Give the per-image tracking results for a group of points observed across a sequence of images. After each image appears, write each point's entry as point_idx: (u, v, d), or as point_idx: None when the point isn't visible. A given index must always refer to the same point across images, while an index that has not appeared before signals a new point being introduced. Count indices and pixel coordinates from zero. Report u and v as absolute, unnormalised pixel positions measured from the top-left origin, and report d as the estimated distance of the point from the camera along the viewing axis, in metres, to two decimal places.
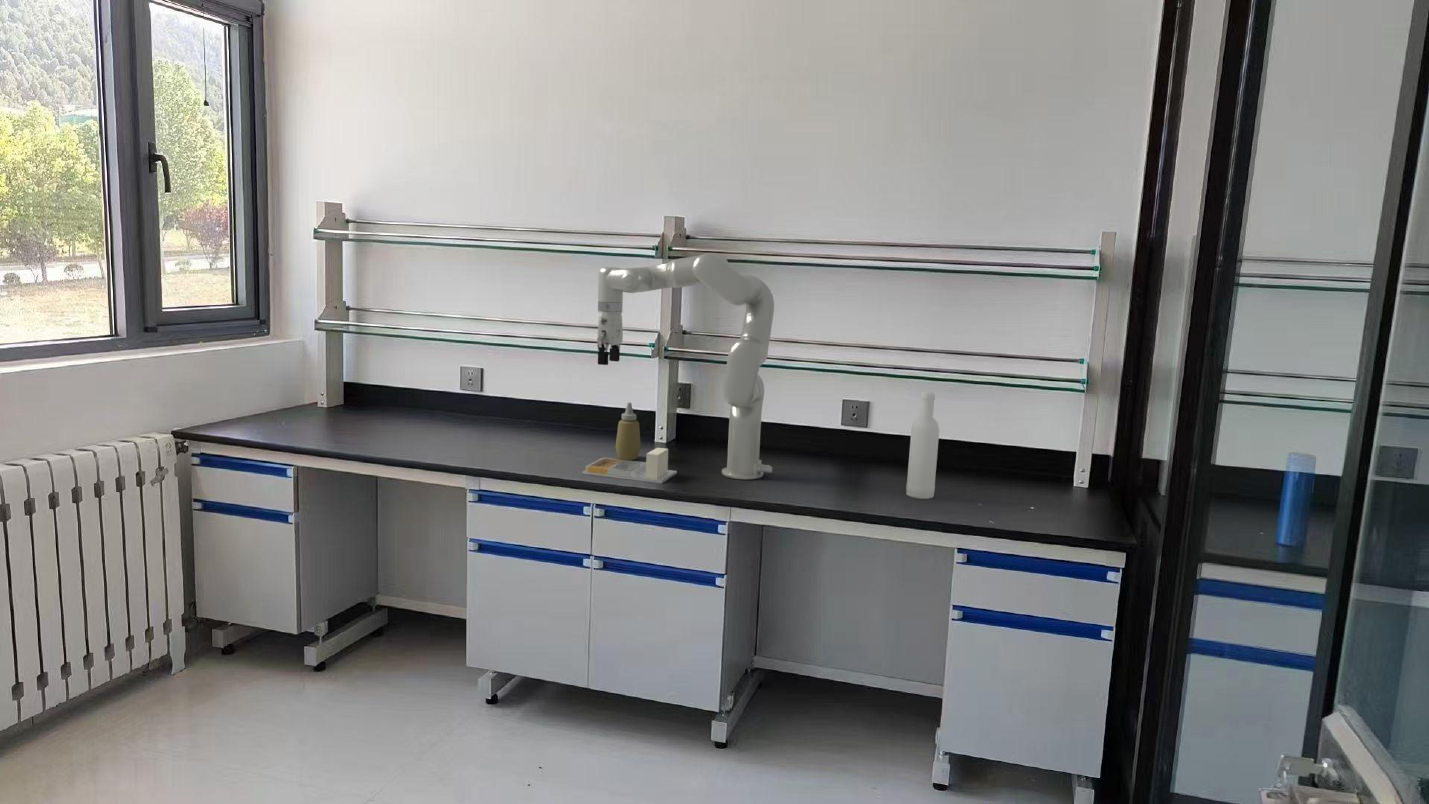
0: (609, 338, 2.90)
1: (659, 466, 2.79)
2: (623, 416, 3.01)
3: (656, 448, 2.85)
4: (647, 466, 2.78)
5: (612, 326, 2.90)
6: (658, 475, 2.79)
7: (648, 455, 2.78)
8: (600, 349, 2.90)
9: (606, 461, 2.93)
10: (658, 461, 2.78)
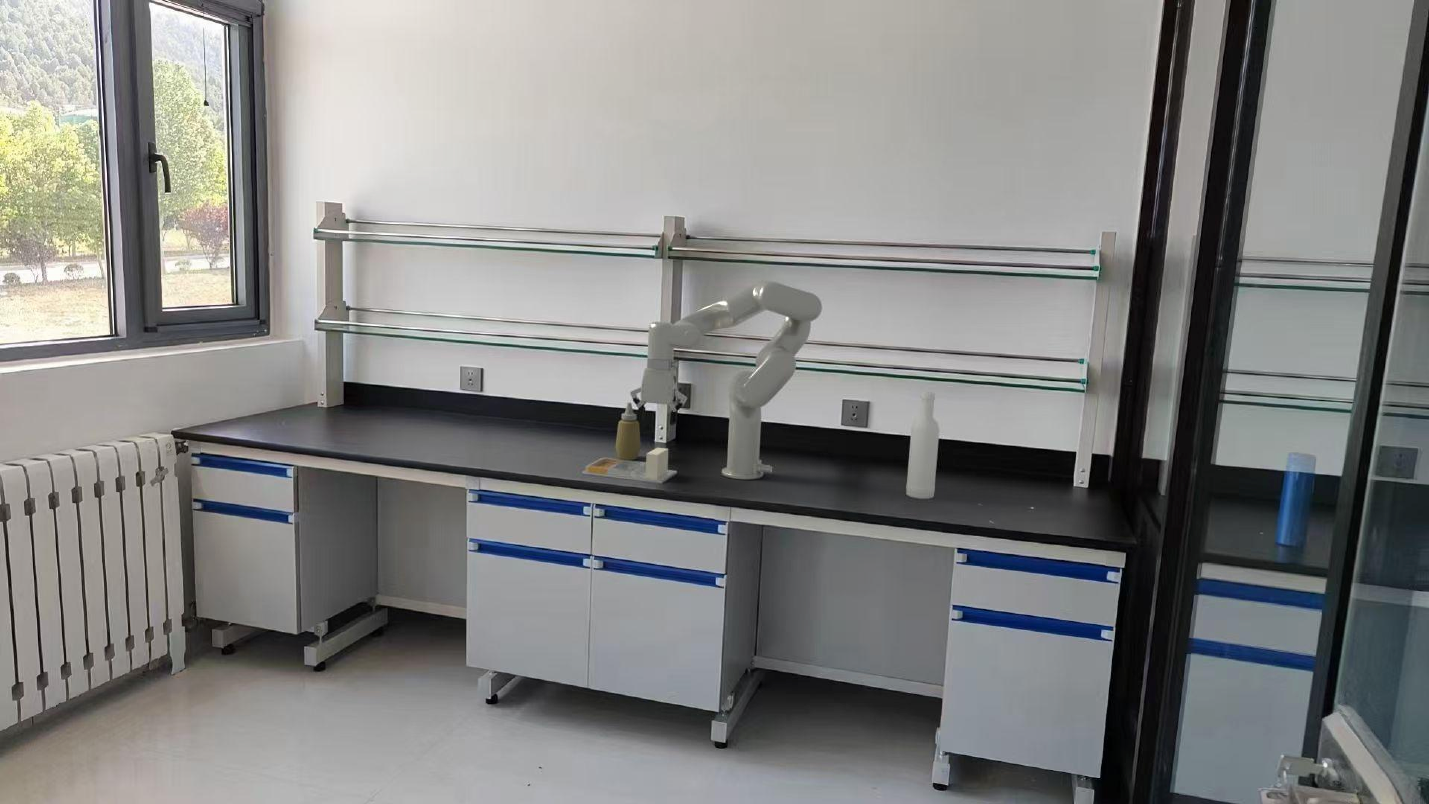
0: (676, 395, 2.79)
1: (659, 466, 2.79)
2: (623, 416, 3.01)
3: (656, 448, 2.85)
4: (647, 466, 2.78)
5: None
6: (658, 475, 2.79)
7: (648, 455, 2.78)
8: (679, 408, 2.77)
9: (606, 461, 2.93)
10: (658, 461, 2.78)
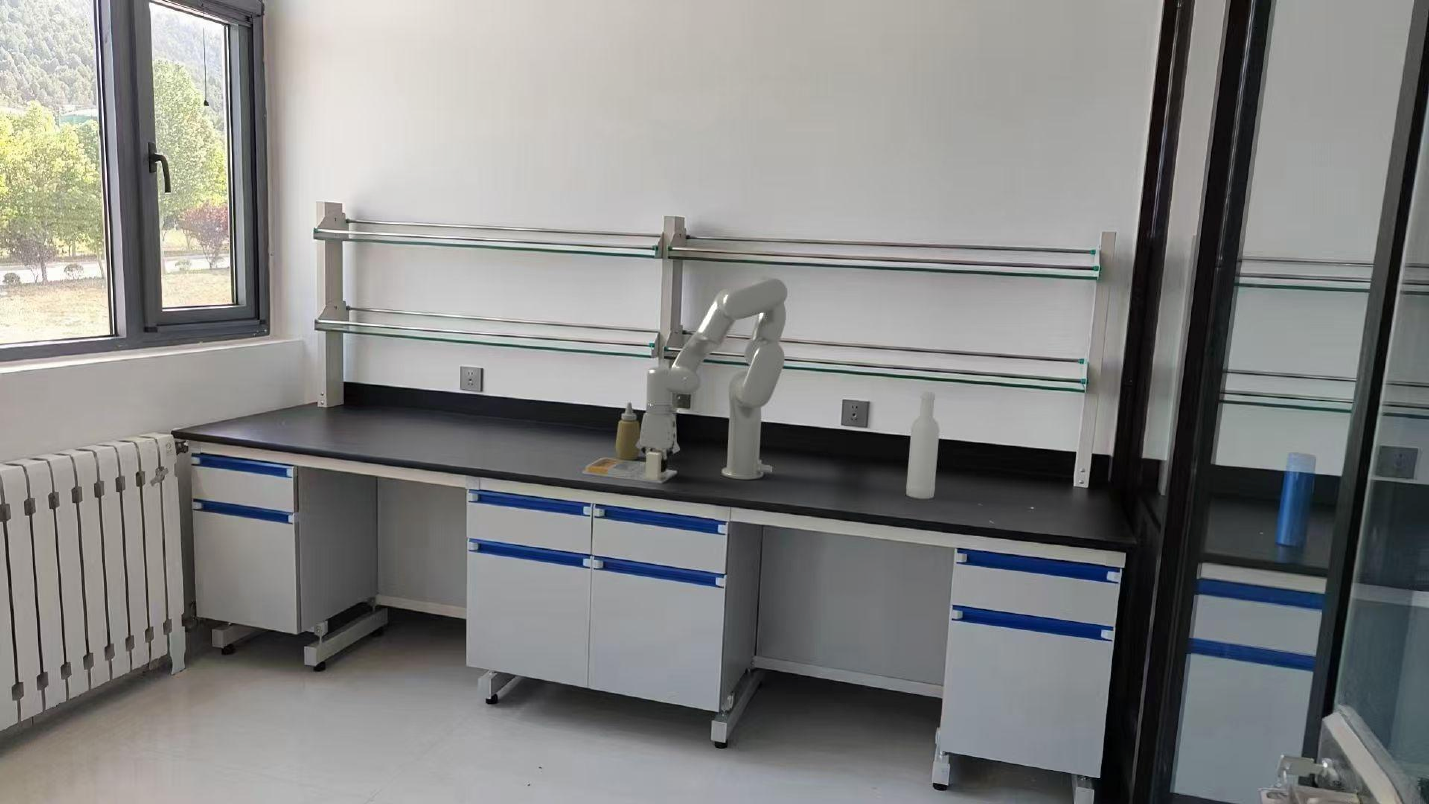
0: (676, 440, 2.81)
1: (659, 466, 2.79)
2: (623, 416, 3.01)
3: (656, 448, 2.85)
4: (647, 466, 2.78)
5: None
6: (658, 475, 2.79)
7: (648, 455, 2.78)
8: (669, 456, 2.80)
9: (606, 461, 2.93)
10: (658, 461, 2.78)
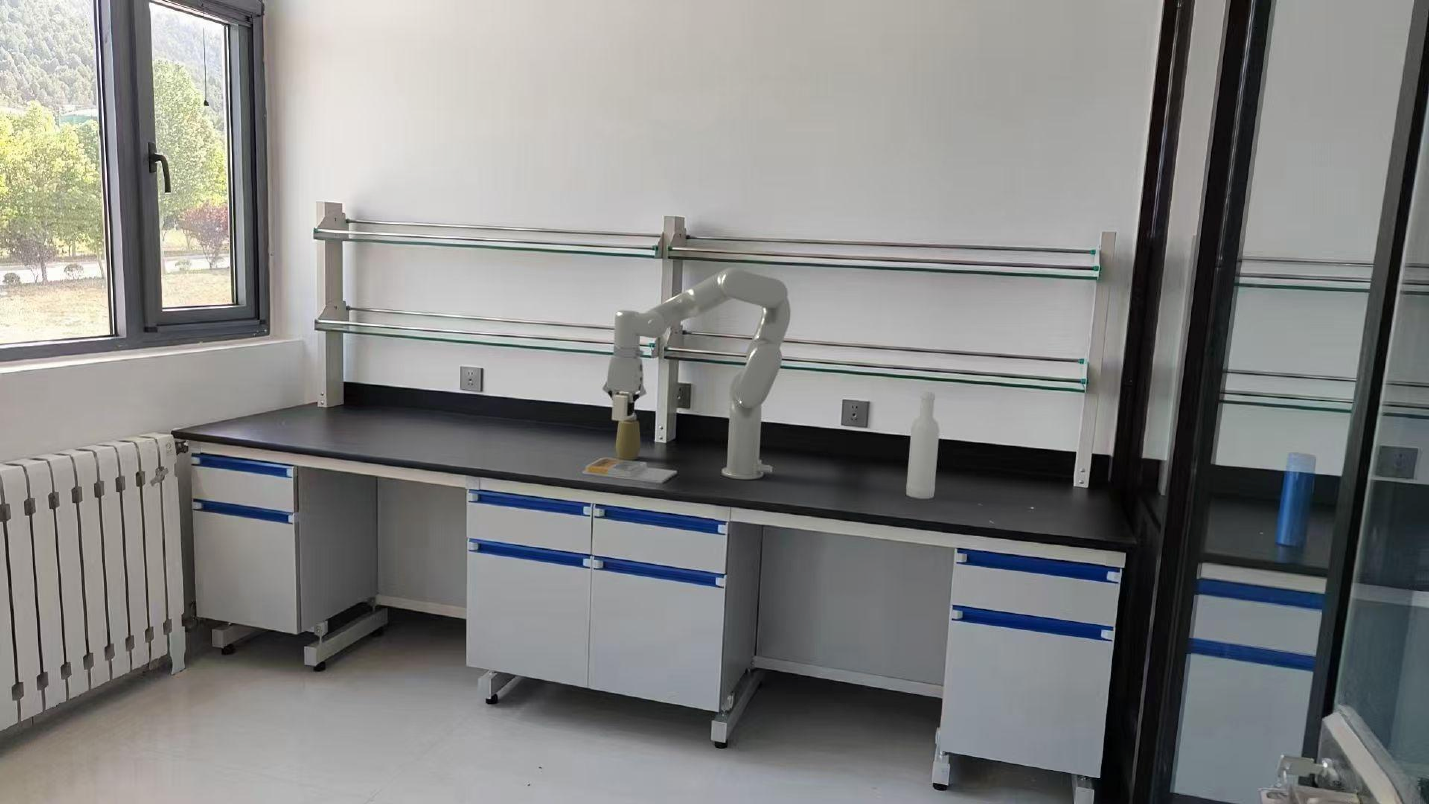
0: (642, 384, 2.82)
1: (626, 409, 2.80)
2: None
3: (623, 392, 2.85)
4: (613, 409, 2.78)
5: None
6: (624, 418, 2.79)
7: (614, 398, 2.78)
8: (635, 399, 2.81)
9: (606, 461, 2.93)
10: (625, 404, 2.78)
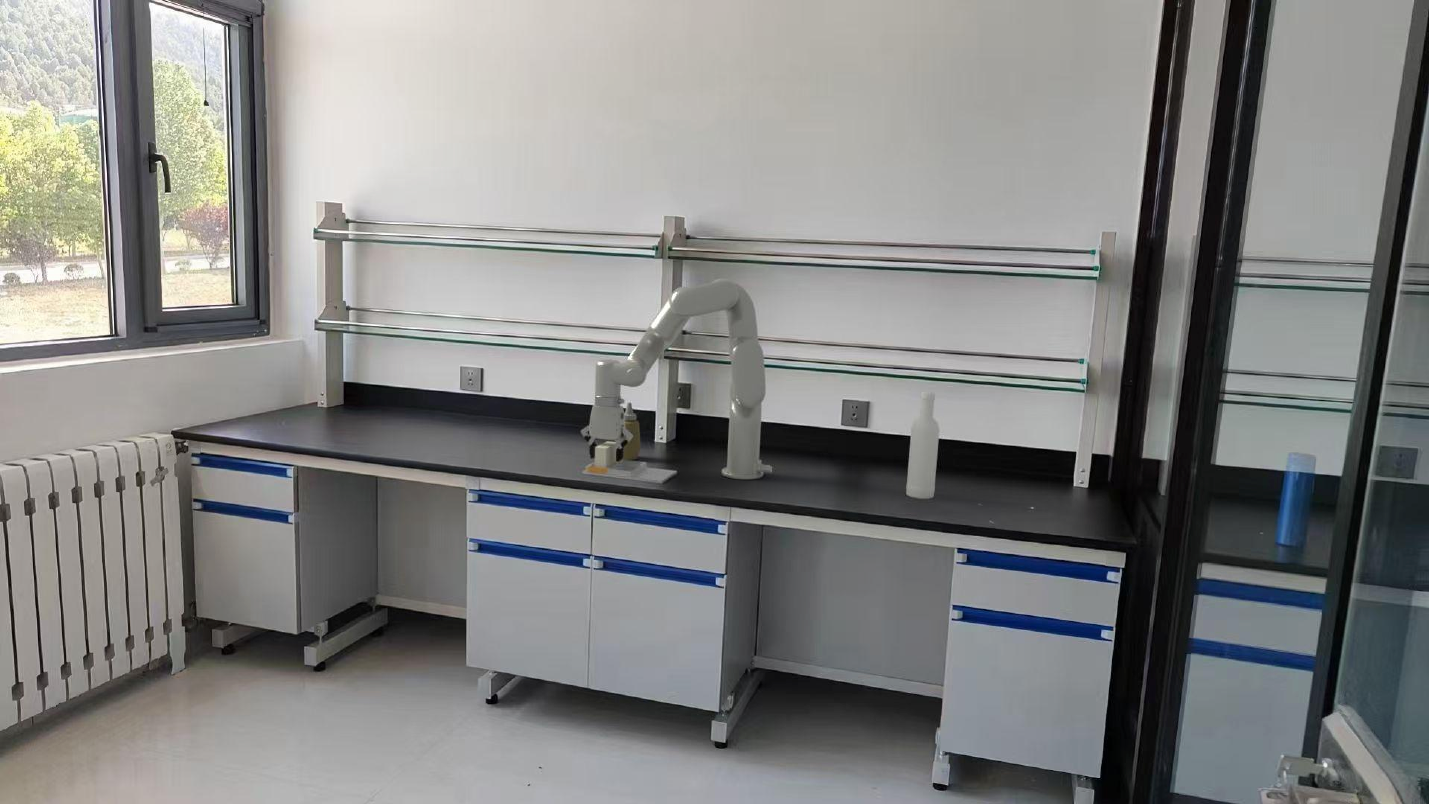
0: None
1: (608, 460, 2.84)
2: None
3: (606, 442, 2.90)
4: (596, 459, 2.83)
5: None
6: None
7: (597, 449, 2.82)
8: (624, 445, 2.84)
9: None
10: (607, 454, 2.83)
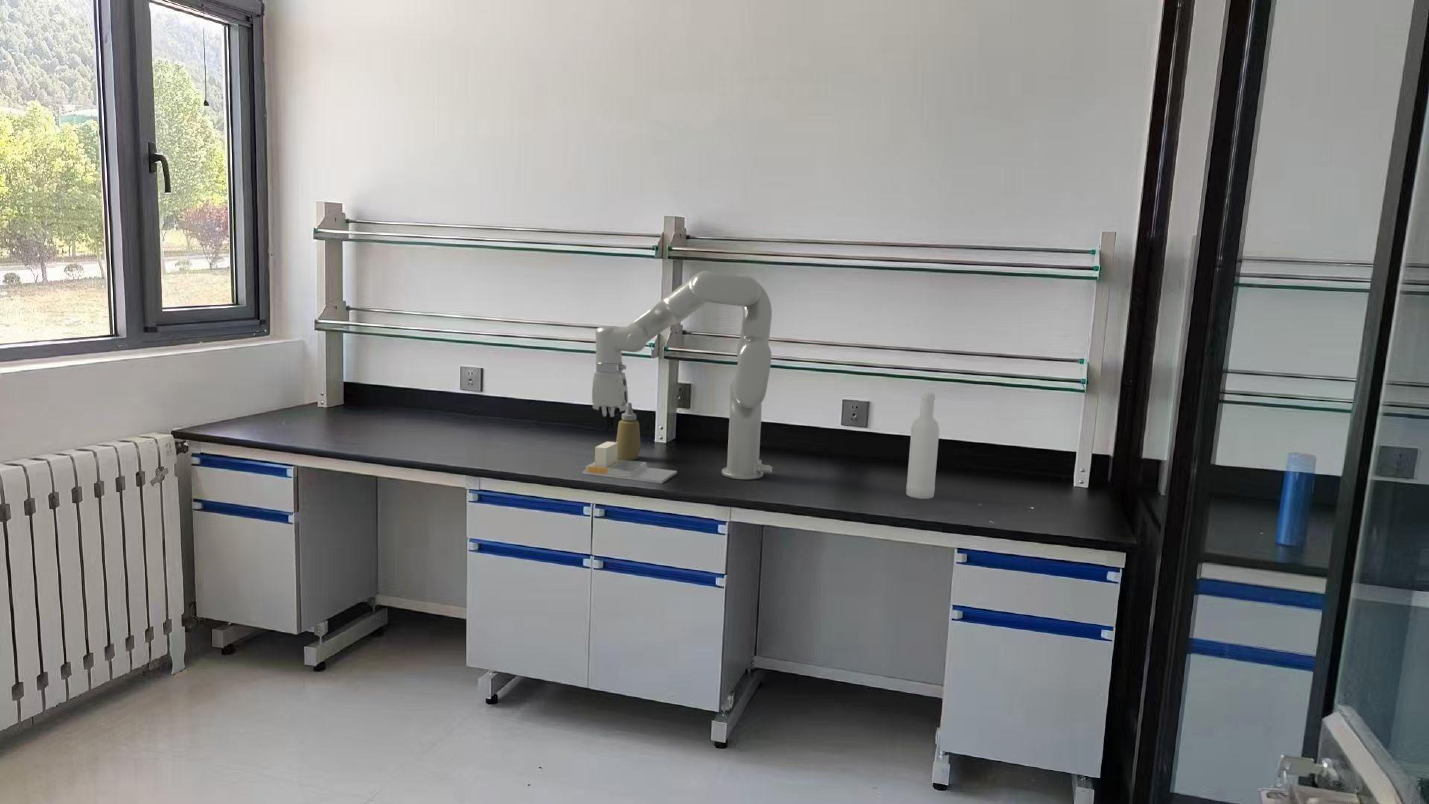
0: (627, 397, 2.84)
1: (608, 460, 2.84)
2: (623, 416, 3.01)
3: (606, 442, 2.90)
4: (596, 459, 2.83)
5: None
6: None
7: (597, 449, 2.82)
8: (616, 413, 2.84)
9: None
10: (607, 454, 2.83)
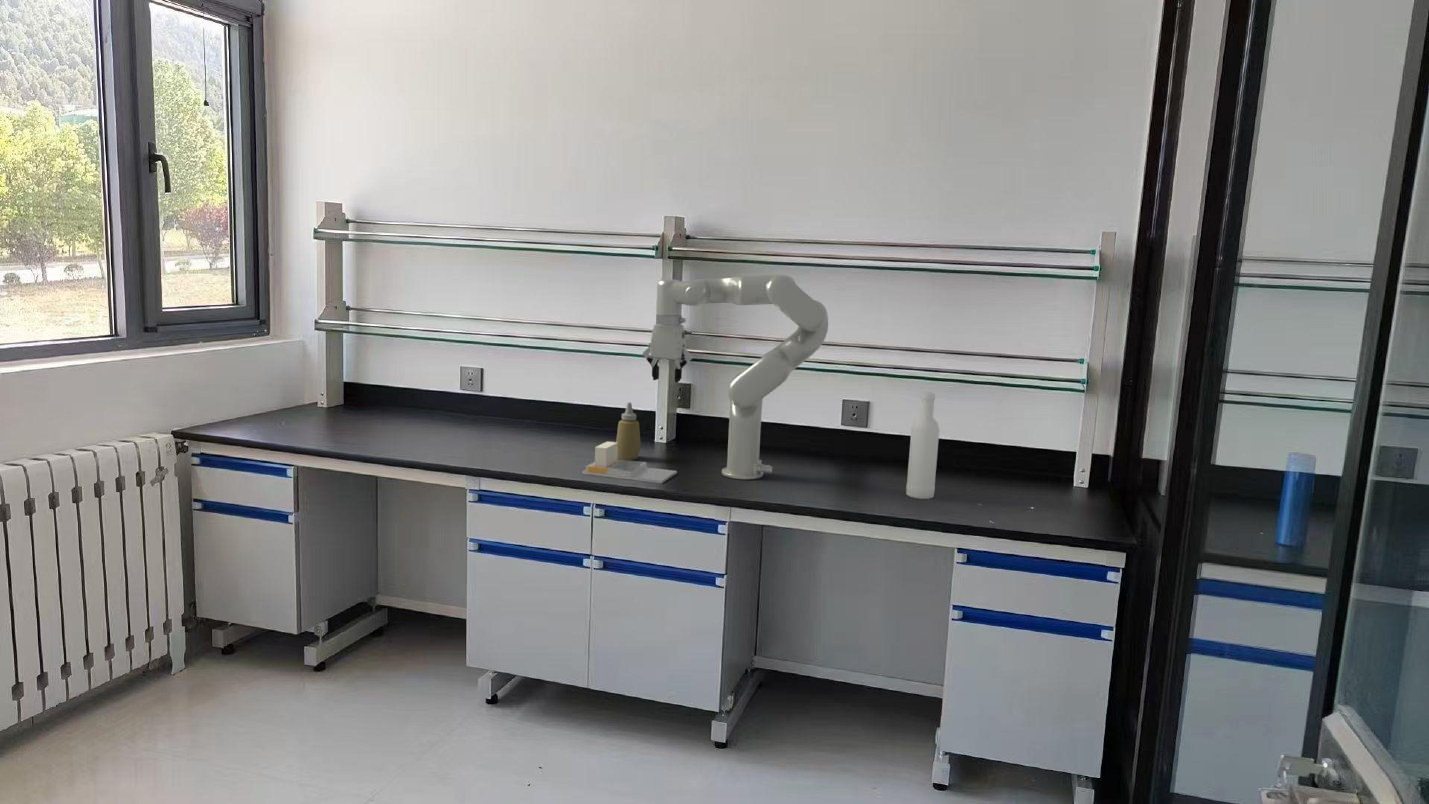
0: None
1: (608, 460, 2.84)
2: (623, 416, 3.01)
3: (606, 442, 2.90)
4: (596, 459, 2.83)
5: None
6: None
7: (597, 449, 2.82)
8: (683, 366, 2.86)
9: None
10: (607, 454, 2.83)
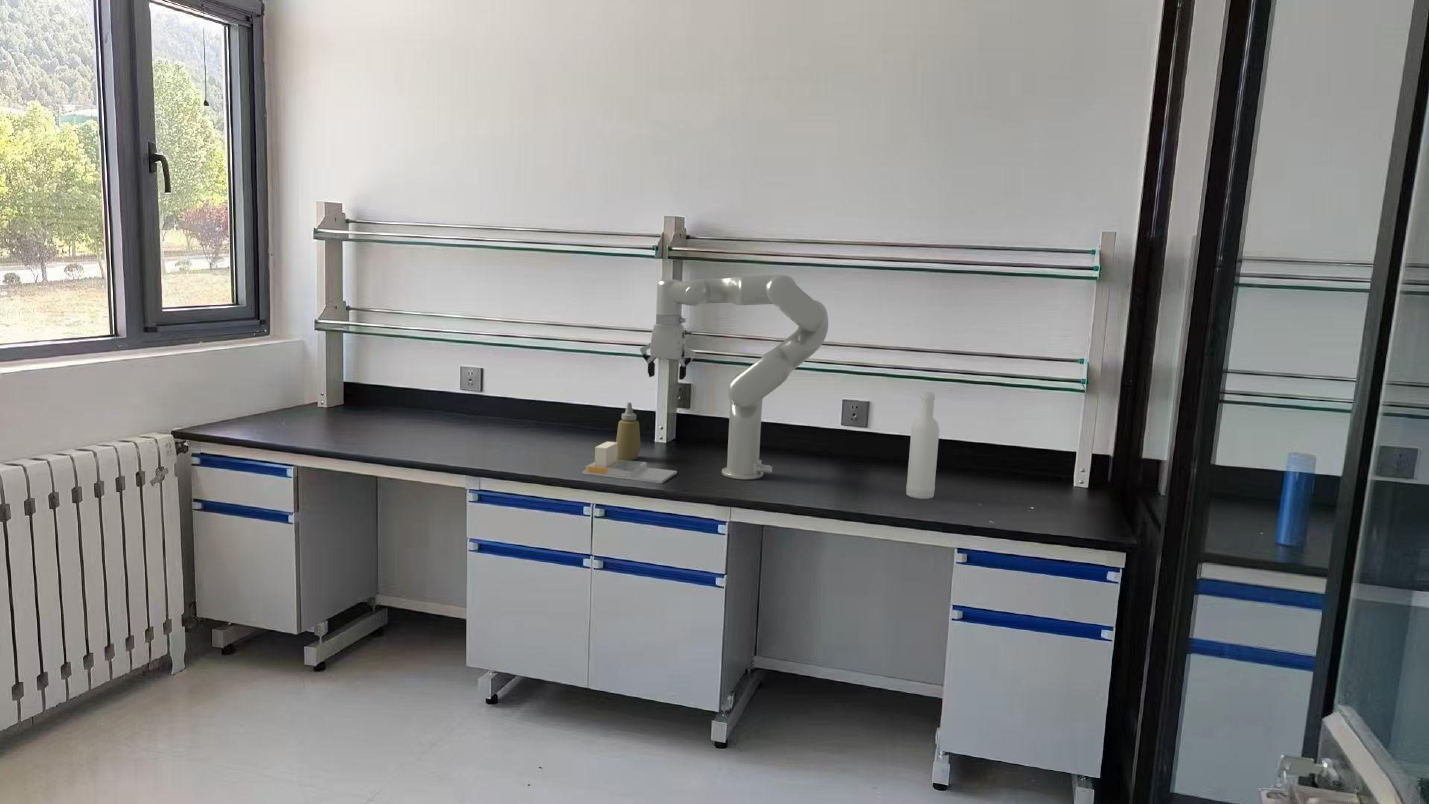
0: (685, 351, 2.87)
1: (608, 460, 2.84)
2: (623, 416, 3.01)
3: (606, 442, 2.90)
4: (596, 459, 2.83)
5: None
6: None
7: (597, 449, 2.82)
8: (687, 363, 2.85)
9: None
10: (607, 454, 2.83)
